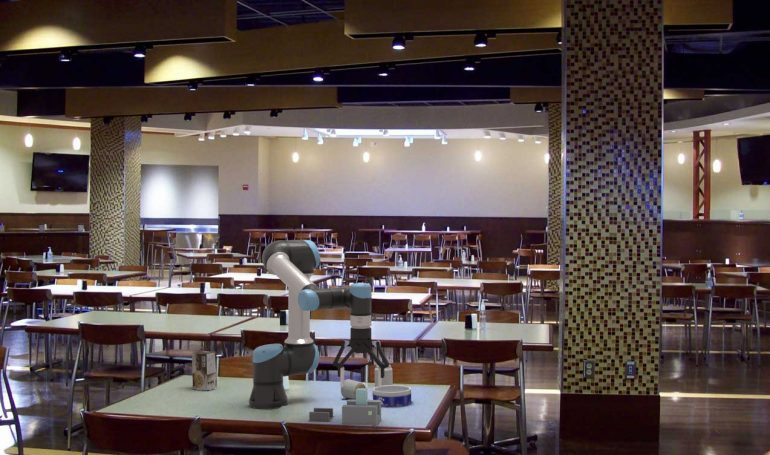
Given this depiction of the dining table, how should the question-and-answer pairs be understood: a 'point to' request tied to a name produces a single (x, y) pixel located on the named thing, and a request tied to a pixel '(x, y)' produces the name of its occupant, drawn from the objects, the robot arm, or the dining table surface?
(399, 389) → the dog bowl
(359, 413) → the port
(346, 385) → the ceramic mug
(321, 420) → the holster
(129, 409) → the dining table surface
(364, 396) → the plug
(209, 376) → the coffee box
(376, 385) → the can
